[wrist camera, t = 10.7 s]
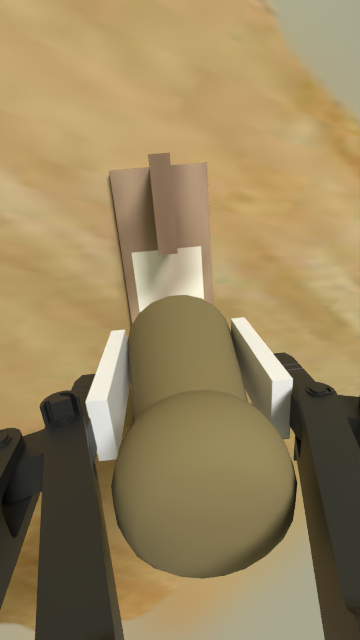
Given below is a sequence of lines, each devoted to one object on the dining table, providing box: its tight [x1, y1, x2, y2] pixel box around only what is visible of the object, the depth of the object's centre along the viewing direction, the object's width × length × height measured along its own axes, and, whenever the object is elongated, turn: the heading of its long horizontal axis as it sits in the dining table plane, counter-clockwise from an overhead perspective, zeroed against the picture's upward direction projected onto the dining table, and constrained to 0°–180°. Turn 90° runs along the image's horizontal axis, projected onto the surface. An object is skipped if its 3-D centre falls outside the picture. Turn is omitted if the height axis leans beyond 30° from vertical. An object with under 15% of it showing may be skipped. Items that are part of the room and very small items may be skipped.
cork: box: [111, 295, 297, 578], centre depth 12 cm, size 6×6×11 cm
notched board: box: [109, 153, 213, 324], centre depth 29 cm, size 9×22×8 cm, turn 5°
